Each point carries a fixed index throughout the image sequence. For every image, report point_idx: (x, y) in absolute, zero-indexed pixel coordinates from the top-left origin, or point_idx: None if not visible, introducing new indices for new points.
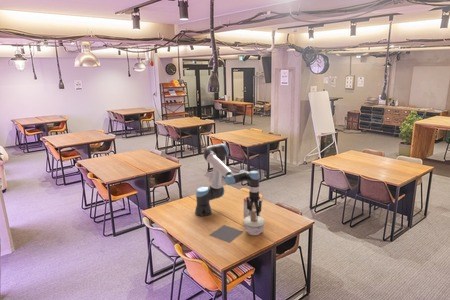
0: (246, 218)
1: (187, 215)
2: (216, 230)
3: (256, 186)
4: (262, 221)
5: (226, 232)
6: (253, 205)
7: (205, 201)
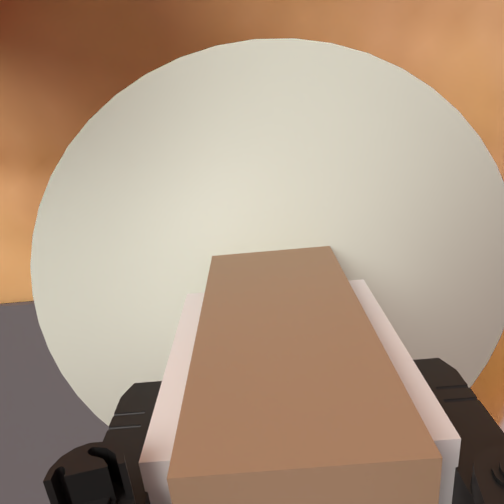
0: (86, 328)
1: None
2: None
3: None
4: (456, 225)
5: (19, 424)
6: None
7: None
